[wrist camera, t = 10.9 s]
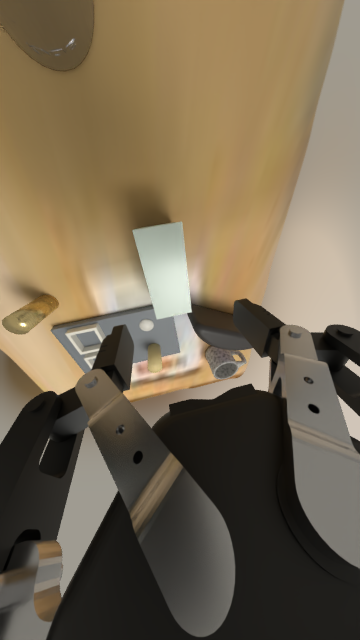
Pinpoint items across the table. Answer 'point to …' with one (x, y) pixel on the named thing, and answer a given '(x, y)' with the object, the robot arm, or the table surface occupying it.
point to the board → (143, 326)
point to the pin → (30, 315)
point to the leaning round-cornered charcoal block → (217, 329)
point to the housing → (165, 267)
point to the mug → (223, 362)
